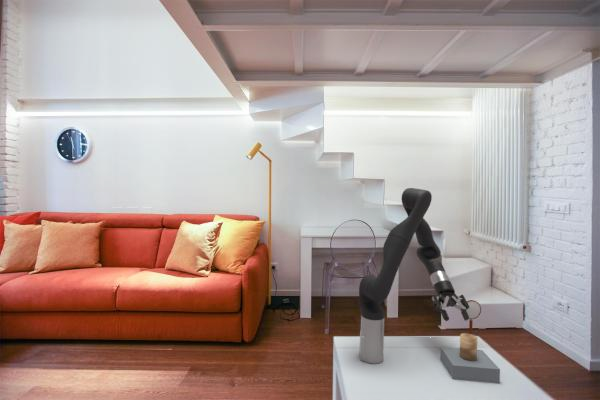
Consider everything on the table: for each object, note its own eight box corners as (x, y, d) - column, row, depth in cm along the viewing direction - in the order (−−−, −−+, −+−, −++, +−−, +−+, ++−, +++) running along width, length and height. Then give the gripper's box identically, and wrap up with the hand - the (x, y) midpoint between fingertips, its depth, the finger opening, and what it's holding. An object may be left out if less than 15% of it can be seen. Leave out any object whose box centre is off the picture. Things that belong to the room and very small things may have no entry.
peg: (462, 373, 117) (463, 339, 117) (456, 365, 123) (457, 332, 123) (479, 375, 117) (480, 340, 116) (472, 366, 122) (473, 333, 122)
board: (452, 378, 114) (453, 365, 114) (440, 358, 128) (440, 346, 128) (499, 383, 112) (500, 369, 112) (481, 362, 126) (482, 350, 126)
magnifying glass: (461, 344, 140) (463, 300, 140) (459, 342, 142) (461, 299, 142) (480, 345, 141) (482, 300, 140) (478, 343, 142) (480, 299, 142)
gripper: (430, 279, 134) (445, 316, 123) (460, 279, 136) (478, 315, 125) (423, 288, 139) (437, 324, 128) (452, 287, 141) (468, 323, 130)
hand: (457, 320), depth 127 cm, fingers open, 8 cm apart
